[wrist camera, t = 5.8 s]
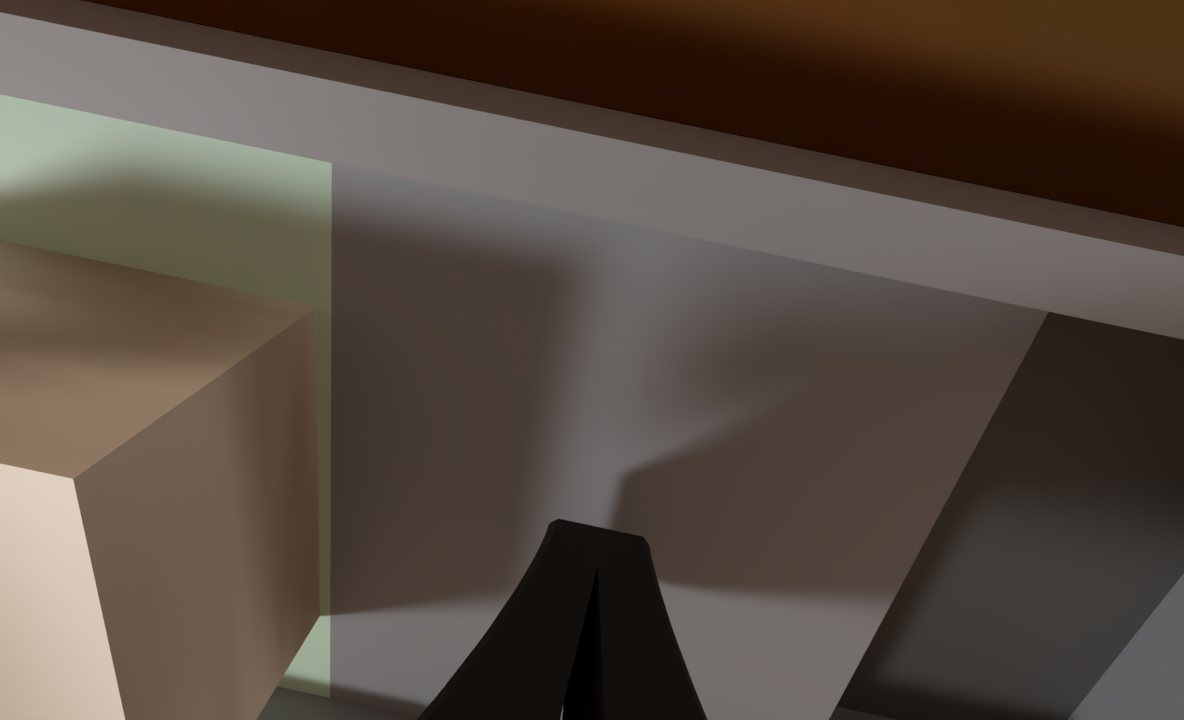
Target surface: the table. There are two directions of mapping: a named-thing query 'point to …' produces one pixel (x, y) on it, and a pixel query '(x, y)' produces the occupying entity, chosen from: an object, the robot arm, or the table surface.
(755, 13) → the table surface
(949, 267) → the gray tray
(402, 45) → the table surface
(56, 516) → the cream block
